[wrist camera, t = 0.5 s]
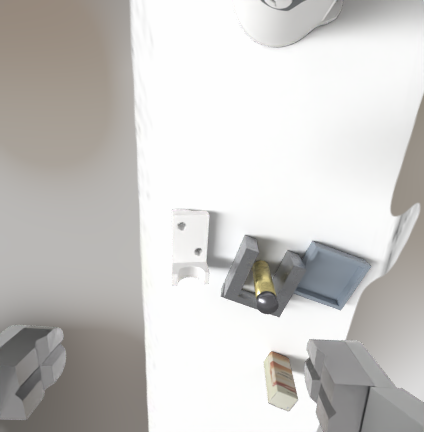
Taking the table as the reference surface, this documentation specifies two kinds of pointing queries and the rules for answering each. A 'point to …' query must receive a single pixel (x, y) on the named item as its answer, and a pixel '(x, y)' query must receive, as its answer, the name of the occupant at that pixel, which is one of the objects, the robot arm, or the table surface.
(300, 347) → the table surface
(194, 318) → the table surface
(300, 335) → the table surface
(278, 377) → the skincare box
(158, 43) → the table surface
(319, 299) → the tray
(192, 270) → the bracket
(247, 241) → the clevis block
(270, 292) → the pin
